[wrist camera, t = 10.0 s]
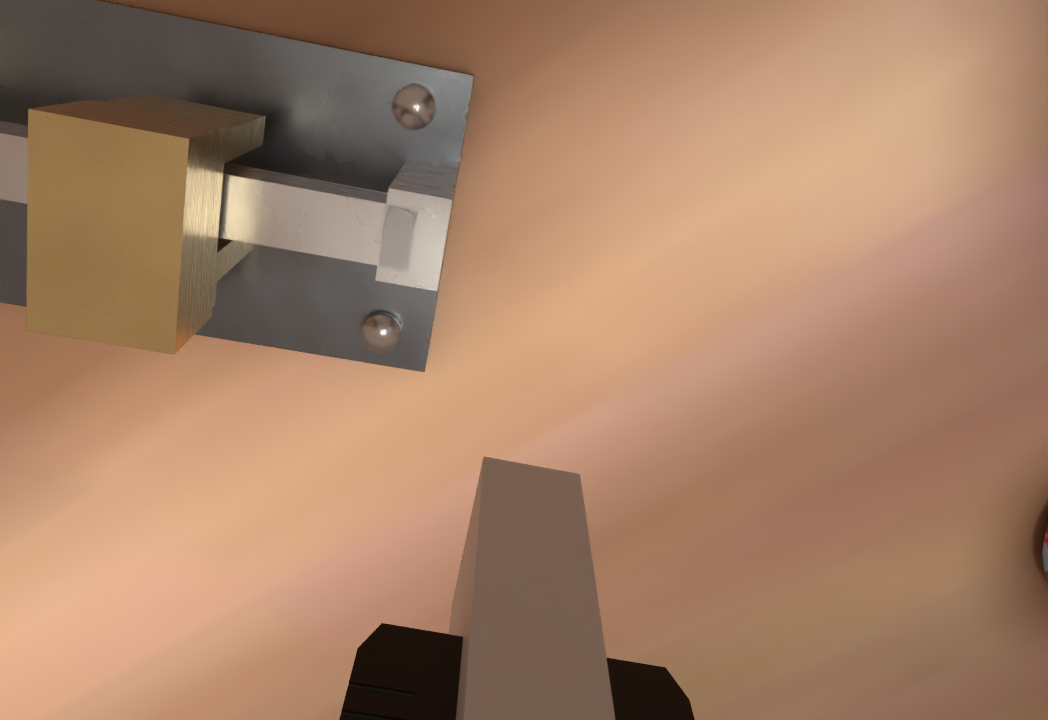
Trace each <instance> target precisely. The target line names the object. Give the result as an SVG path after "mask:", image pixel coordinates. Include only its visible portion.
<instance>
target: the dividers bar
mask: <svg viewBox="0 0 1048 720" xmlns="http://www.w3.org/2000/svg"><path fill="white" fill-rule="evenodd" d="M457 175H458V169H454V168H448V167H443V166H438V165H433V164H427V163H422V162H417V161H411V160H406V162H405V163H404V165H403V166H402V168H401V169H400V171H399V173H398V174H397V176H396V177H395V179H394V180H393V182H392V183H391V185H390V186H389V188H388V193H387V192H381V191H376V190H371V189H365V188H360V187H354V186H349V185H344V184H338V183H333V182H327V181H322V180H317V179H311V178H306V177H300V176H295V175H289V174H284V173H279V172H273V171H268V170H262V169H257V168H252V167H246V166H241V165H235V164H230V163H224V170H223V183H222V195H221V207H220V220H219V232H218V238H224V239H230V240H235V241H241V242H247V243H252V244H258V245H264V246H269V247H275V248H281V249H286V250H292V251H298V252H303V253H309V254H315V255H321V256H326V257H332V258H338V259H343V260H349V261H355V262H360V263H366V264H372V265H377V272H376V279H375V281H381V282H387V283H393V284H398V285H404V286H410V287H415V288H421V289H427V290H433V291H437V289H438V284H439V278H440V273H441V268H442V262H443V257H444V252H445V246H446V241H447V235H448V229H449V223H450V217H451V211H452V205H453V199H454V193H455V187H456V181H457ZM27 194H28V126H24V125H19V124H14V123H8V122H3V121H0V199H3V200H8V201H14V202H20V203H25V204H27Z"/></svg>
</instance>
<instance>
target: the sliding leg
mask: <svg viewBox="0 0 1048 720" xmlns="http://www.w3.org/2000/svg"><path fill="white" fill-rule="evenodd" d="M265 119H266V116H262V115H257V114H252V113H246V112H241V111H236V110H231V109H226V108H220V107H215V106H210V105H205V104H199V103H194V102H189V101H184V100H178V99H173V98H168V97H163V96H157V95H152V94H144V95H138V96H131V97H125V98H119V99H112V100H106V101H100V102H96V101H91V100H84V101H77V102H70V103H63V104H57V105H50V106H43V107H37V108H30V109H28V194H27V315H26V330H27V331H33V332H39V333H45V334H51V335H57V336H64V337H70V338H76V339H82V340H88V341H94V342H101V343H107V344H113V345H119V346H125V347H132V348H138V349H144V350H150V351H156V352H162V353H169V354H176V353H177V352H178V351H179V350H180V349H181V348H182V347H183V346H184V344H185V343H186V342H187V341H188V340H189V339H190V338H191V337H192V336H193V335H194V334H195V333H196V332H197V331H198V330H199V329H200V328H201V327H202V326H203V325H204V324H205V323H206V322H207V321H208V320H209V319H210V318H211V317H212V308H213V307H214V306H215V299H216V287H217V281H218V280H219V279H220V278H222V277H223V276H224V275H225V274H226V273H227V272H228V271H229V270H230V269H232V268H233V267H234V266H235V265H236V264H237V263H238V262H239V261H240V260H241V259H243V258H244V257H245V256H246V255H247V254H248V253H249V252H250V251H251V250H253V246H254V244H252V243H247V242H241V241H235V240H230V239H224V238H218V232H219V220H220V207H221V195H222V183H223V170H224V163H226V162H228V161H230V160H232V159H234V158H236V157H238V156H241V155H243V154H245V153H247V152H249V151H251V150H253V149H255V148H258V147H260V146H262V145H263V140H264V129H265Z"/></svg>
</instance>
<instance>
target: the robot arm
mask: <svg viewBox="0 0 1048 720" xmlns="http://www.w3.org/2000/svg"><path fill="white" fill-rule="evenodd" d="M339 720H694V716H693V712H692V708H691V704H690V700H689V699H688V697H687V696H686V695H685V693H684V692H683V691H682V689H681V688H680V687H679V685H678V684H677V682H676V681H675V680H674V678H673V677H672V676H671V674H670V673H669V672H668V670H667V669H666V668H665V667H659V666H653V665H647V664H641V663H635V662H629V661H623V660H617V659H611V658H606V651H605V644H604V637H603V631H602V624H601V617H600V610H599V603H598V596H597V589H596V582H595V575H594V568H593V561H592V554H591V548H590V541H589V534H588V527H587V520H586V513H585V506H584V499H583V492H582V485H581V478H580V474H576V473H571V472H565V471H560V470H554V469H549V468H543V467H538V466H532V465H527V464H521V463H516V462H510V461H505V460H500V459H494V458H489V457H484V458H483V462H482V467H481V472H480V476H479V481H478V486H477V490H476V495H475V500H474V504H473V509H472V514H471V518H470V523H469V528H468V532H467V537H466V542H465V546H464V551H463V556H462V560H461V565H460V570H459V574H458V579H457V584H456V589H455V593H454V598H453V603H452V609H451V618H450V627H449V634H444V633H438V632H432V631H426V630H420V629H414V628H408V627H402V626H396V625H390V624H384V623H382V624H381V625H380V626H379V627H378V628H377V629H376V630H375V631H374V632H373V633H372V634H371V635H370V636H369V637H368V638H367V639H366V640H365V641H364V642H363V643H362V645H361V646H360V647H359V648H358V649H357V653H356V657H355V661H354V665H353V669H352V673H351V676H350V680H349V685H348V688H347V692H346V696H345V700H344V704H343V708H342V712H341V716H340V719H339Z"/></svg>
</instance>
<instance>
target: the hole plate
mask: <svg viewBox="0 0 1048 720" xmlns="http://www.w3.org/2000/svg"><path fill="white" fill-rule="evenodd" d="M473 79H474V75H471V74H466V73H461V72H456V71H451V70H446V69H441V68H436V67H431V66H426V65H421V64H416V63H411V62H406V61H401V60H396V59H391V58H386V57H381V56H376V55H371V54H366V53H361V52H356V51H351V50H347V49H342V48H337V47H332V46H327V45H322V44H317V43H312V42H307V41H302V40H297V39H292V38H287V37H282V36H277V35H272V34H267V33H262V32H257V31H252V30H247V29H242V28H237V27H232V26H227V25H222V24H217V23H212V22H207V21H202V20H197V19H192V18H187V17H182V16H177V15H172V14H167V13H162V12H157V11H152V10H147V9H142V8H137V7H132V6H127V5H122V4H117V3H112V2H107V1H102V0H0V121H3V122H8V123H14V124H19V125H24V126H28V109H30V108H37V107H43V106H50V105H57V104H63V103H70V102H77V101H84V100H91V101H96V102H100V101H106V100H112V99H119V98H125V97H131V96H138V95H144V94H152V95H157V96H163V97H168V98H173V99H178V100H184V101H189V102H194V103H199V104H205V105H210V106H215V107H220V108H226V109H231V110H236V111H241V112H246V113H252V114H257V115H262V116H266V119H265V129H264V140H263V145H262V146H260V147H258V148H255V149H253V150H251V151H249V152H247V153H245V154H243V155H241V156H238V157H236V158H234V159H232V160H230V161H228V162H226V163H230V164H235V165H241V166H246V167H252V168H257V169H262V170H268V171H273V172H279V173H284V174H289V175H295V176H300V177H306V178H311V179H317V180H322V181H327V182H333V183H338V184H344V185H349V186H354V187H360V188H365V189H371V190H376V191H381V192H387V193H388V188H389V186H390V185H391V183H392V182H393V180H394V179H395V177H396V176H397V174H398V173H399V171H400V169H401V168H402V166H403V165H404V163H405V162H406V160H411V161H417V162H422V163H427V164H433V165H438V166H443V167H448V168H454V169H459V163H460V157H461V151H462V145H463V139H464V133H465V127H466V121H467V115H468V109H469V103H470V97H471V91H472V85H473ZM445 247H446V246H445ZM444 253H445V252H444ZM443 259H444V257H443ZM442 265H443V262H442ZM441 271H442V268H441ZM376 272H377V265H372V264H366V263H360V262H355V261H349V260H343V259H338V258H332V257H326V256H321V255H315V254H309V253H303V252H298V251H292V250H286V249H281V248H275V247H269V246H264V245H258V244H254V246H253V250H251V251H250V252H249V253H248V254H247V255H246V256H245V257H244V258H243V259H241V260H240V261H239V262H238V263H237V264H236V265H235V266H234V267H233V268H232V269H230V270H229V271H228V272H227V273H226V274H225V275H224V276H223V277H222V278H220V279H219V280H218V281H217V287H216V299H215V306H214V307H213V308H212V317H211V318H210V319H209V320H208V321H207V322H206V323H205V324H204V325H203V326H202V327H201V328H200V329H199V330H198V331H197V332H196V333H195V334H196V335H202V336H208V337H214V338H221V339H227V340H233V341H239V342H245V343H251V344H257V345H263V346H269V347H275V348H281V349H287V350H293V351H299V352H306V353H312V354H318V355H324V356H330V357H336V358H342V359H348V360H354V361H360V362H366V363H372V364H378V365H385V366H391V367H397V368H403V369H409V370H415V371H421V372H425V367H426V361H427V355H428V349H429V343H430V337H431V331H432V325H433V319H434V313H435V307H436V301H437V295H438V289H439V284H438V289H437V291H433V290H427V289H421V288H415V287H410V286H404V285H398V284H393V283H387V282H381V281H375V279H376ZM440 277H441V273H440ZM439 283H440V278H439ZM0 302H2V303H8V304H14V305H20V306H26V307H27V204H25V203H20V202H14V201H8V200H3V199H0Z"/></svg>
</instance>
